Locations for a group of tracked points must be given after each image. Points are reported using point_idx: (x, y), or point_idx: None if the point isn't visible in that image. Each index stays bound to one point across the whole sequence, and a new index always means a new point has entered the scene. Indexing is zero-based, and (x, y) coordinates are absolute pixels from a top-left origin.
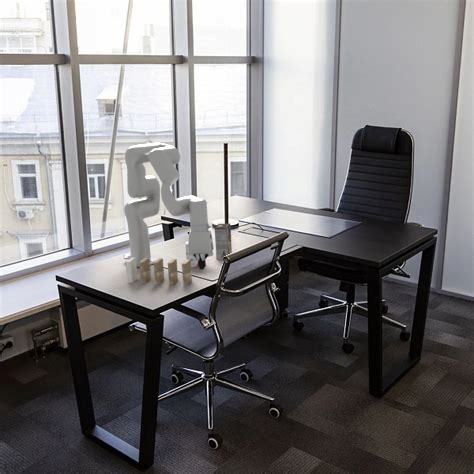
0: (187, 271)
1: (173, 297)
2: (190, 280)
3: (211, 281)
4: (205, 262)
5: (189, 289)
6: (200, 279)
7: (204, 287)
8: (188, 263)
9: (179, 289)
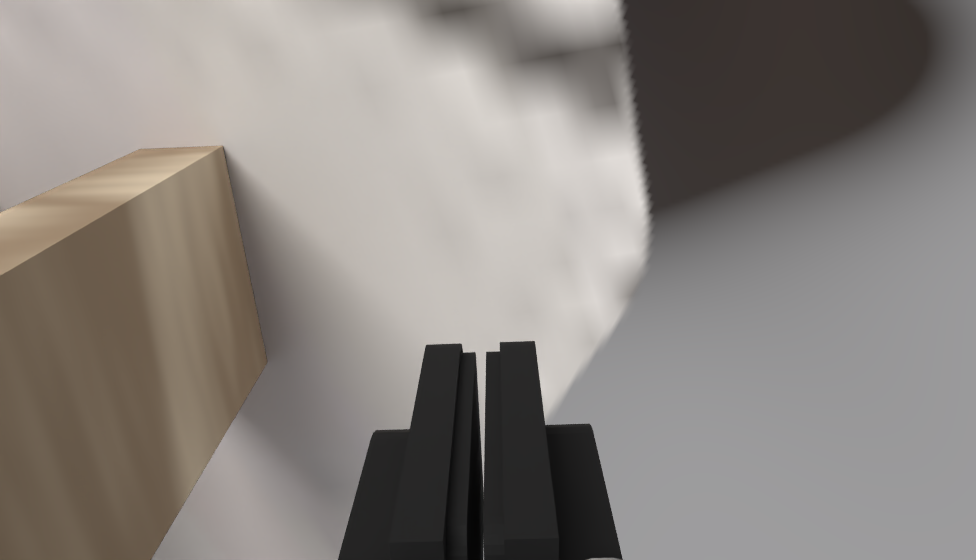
0: (155, 487)
1: None
2: (224, 232)
3: (596, 112)
4: (609, 518)
5: None
6: (344, 36)
7: (558, 389)
8: (11, 531)
9: (232, 504)
